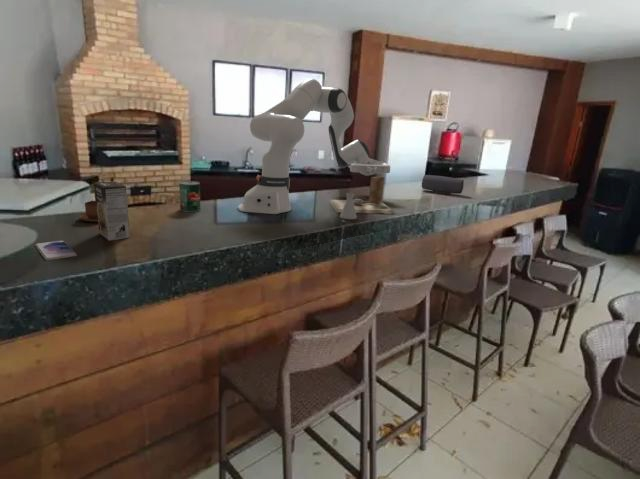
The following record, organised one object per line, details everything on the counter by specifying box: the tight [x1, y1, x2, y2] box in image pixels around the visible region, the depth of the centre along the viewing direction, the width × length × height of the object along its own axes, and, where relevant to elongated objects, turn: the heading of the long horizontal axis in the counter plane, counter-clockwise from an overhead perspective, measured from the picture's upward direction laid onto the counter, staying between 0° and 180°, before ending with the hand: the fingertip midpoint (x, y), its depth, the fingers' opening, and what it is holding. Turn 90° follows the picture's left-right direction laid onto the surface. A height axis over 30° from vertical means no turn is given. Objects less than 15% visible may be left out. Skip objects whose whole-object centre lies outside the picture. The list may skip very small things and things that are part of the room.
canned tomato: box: [178, 180, 201, 213], centre depth 159 cm, size 8×8×11 cm
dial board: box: [329, 199, 394, 215], centre depth 182 cm, size 25×20×2 cm
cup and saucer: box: [77, 200, 98, 223], centre depth 137 cm, size 12×12×6 cm
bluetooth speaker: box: [421, 174, 465, 195], centre depth 236 cm, size 23×9×10 cm, turn 58°
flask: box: [339, 192, 358, 220], centre depth 161 cm, size 7×7×10 cm
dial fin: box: [353, 176, 385, 205], centre depth 182 cm, size 16×4×12 cm, turn 122°
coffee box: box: [93, 181, 131, 242], centre depth 120 cm, size 9×6×16 cm
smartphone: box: [34, 240, 78, 261], centre depth 107 cm, size 7×1×15 cm
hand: (373, 170), depth 192 cm, fingers closed
